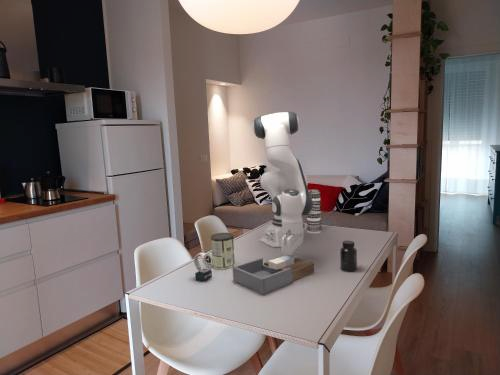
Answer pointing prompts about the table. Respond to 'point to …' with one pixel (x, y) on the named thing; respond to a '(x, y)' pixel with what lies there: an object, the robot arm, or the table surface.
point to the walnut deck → (299, 268)
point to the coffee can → (222, 250)
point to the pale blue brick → (287, 260)
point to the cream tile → (277, 263)
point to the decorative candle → (314, 213)
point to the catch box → (261, 276)
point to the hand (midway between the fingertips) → (293, 259)
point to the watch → (203, 273)
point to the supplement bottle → (348, 257)
